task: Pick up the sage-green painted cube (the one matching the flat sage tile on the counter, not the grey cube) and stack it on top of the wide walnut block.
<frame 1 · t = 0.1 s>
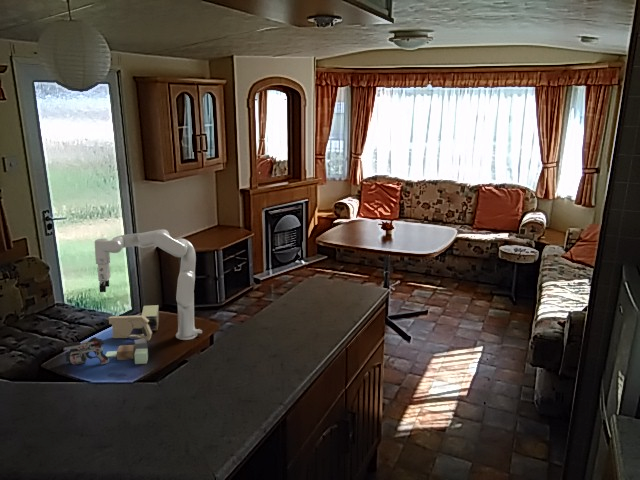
hand: (104, 289, 301), 31 cm above the table, tool pointing down, fingers open, 9 cm apart
sage cube: (141, 361, 283), on the table
walnut base: (126, 356, 288), on the table
toy blaster: (86, 363, 279), on the table
sage tile: (111, 354, 289), on the table
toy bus: (150, 325, 331), on the table
gun: (131, 339, 311), on the table
grey cube: (141, 351, 295), on the table
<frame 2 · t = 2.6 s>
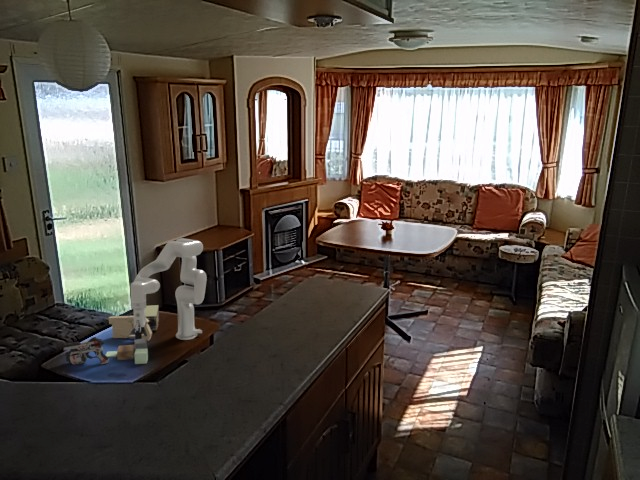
hand: (139, 335, 279), 15 cm above the table, tool pointing down, fingers open, 9 cm apart
nothing on the table moved.
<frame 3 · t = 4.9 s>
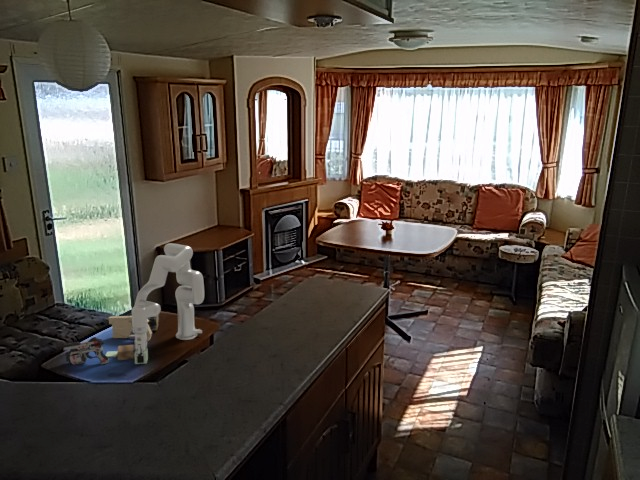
hand: (141, 359, 283), 1 cm above the table, tool pointing down, fingers closed on sage cube, 6 cm apart
sage cube: (141, 361, 283), on the table, touching gripper
everything else where it was.
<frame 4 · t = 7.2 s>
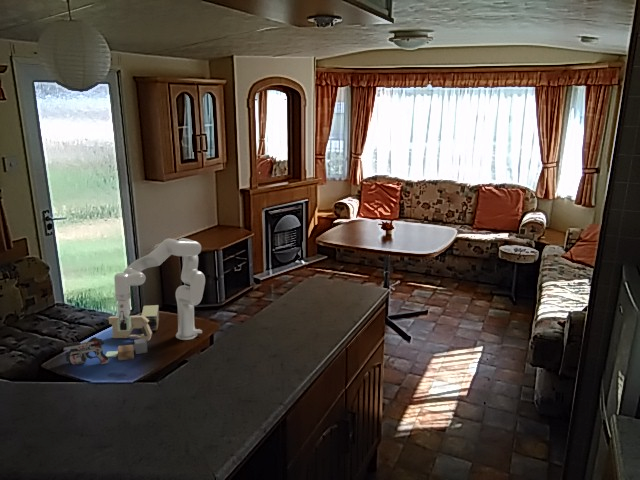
hand: (124, 327, 284), 17 cm above the table, tool pointing down, fingers closed on sage cube, 6 cm apart
sage cube: (124, 328, 284), point 16 cm above the table, touching gripper
everything else where it was.
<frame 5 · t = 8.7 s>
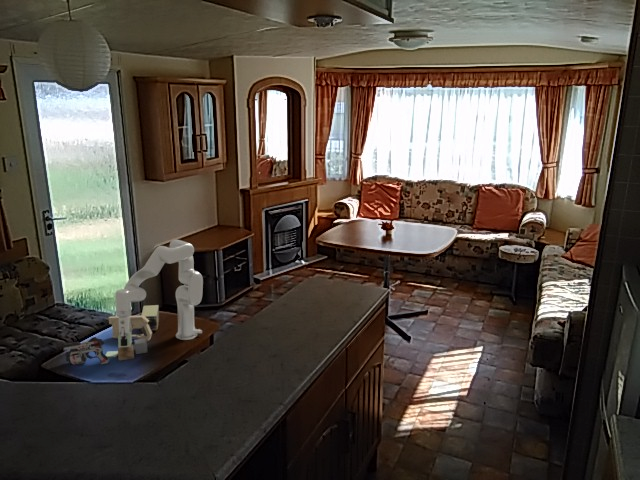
hand: (125, 342, 286), 8 cm above the table, tool pointing down, fingers closed on sage cube, 6 cm apart
sage cube: (125, 344, 286), point 7 cm above the table, touching gripper
everything else where it was.
when the fingers open (7 cm above the table, at t = 9.8 s): sage cube drops 1 cm, point 5 cm above the table.
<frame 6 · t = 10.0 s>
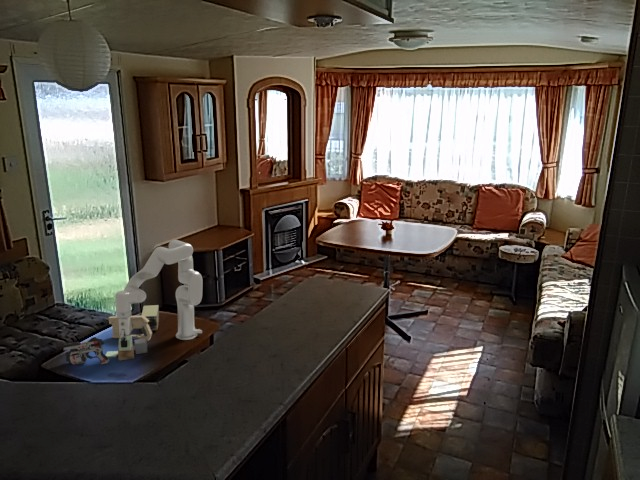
hand: (125, 343, 286), 7 cm above the table, tool pointing down, fingers open, 7 cm apart
sage cube: (125, 348, 287), point 5 cm above the table
everything else where it was.
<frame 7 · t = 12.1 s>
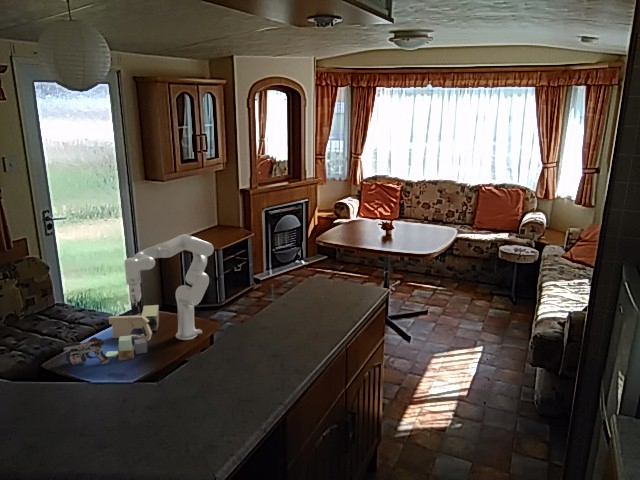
hand: (136, 309, 289), 25 cm above the table, tool pointing down, fingers open, 9 cm apart
sage cube: (125, 348, 287), point 5 cm above the table, touching walnut base
walnut base: (126, 356, 288), on the table, touching sage cube
everything else where it was.
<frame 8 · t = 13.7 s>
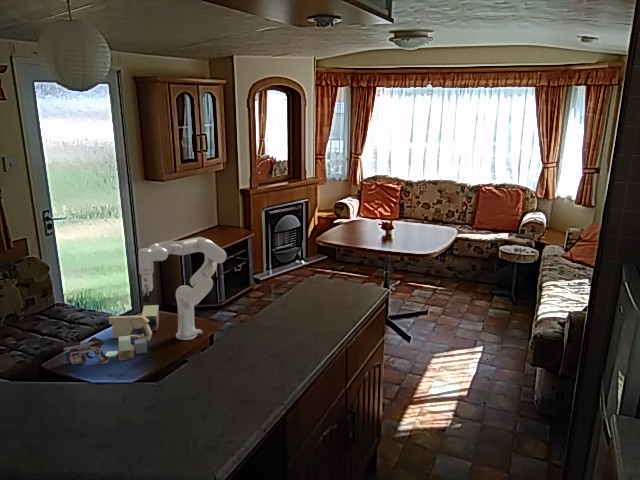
hand: (147, 299, 295), 28 cm above the table, tool pointing down, fingers open, 9 cm apart
nothing on the table moved.
at the end: sage cube 0.4 cm off-centre on the walnut base, point 5.0 cm above the walnut base's base; sage cube tilted 0°; the gripper is holding nothing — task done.
